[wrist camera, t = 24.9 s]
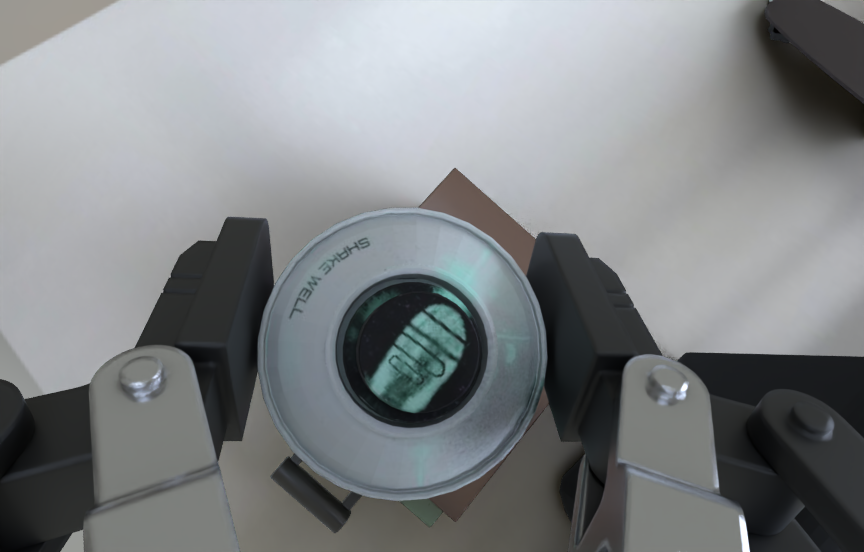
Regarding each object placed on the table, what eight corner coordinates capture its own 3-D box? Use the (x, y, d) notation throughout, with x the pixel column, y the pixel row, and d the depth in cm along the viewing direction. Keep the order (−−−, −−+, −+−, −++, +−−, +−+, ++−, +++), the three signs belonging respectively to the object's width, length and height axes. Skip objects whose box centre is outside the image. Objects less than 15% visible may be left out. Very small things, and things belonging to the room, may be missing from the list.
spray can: (436, 298, 28) (618, 182, 8) (427, 408, 27) (603, 569, 7) (327, 287, 27) (244, 133, 8) (315, 399, 27) (185, 550, 7)
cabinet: (432, 479, 38) (455, 523, 29) (296, 359, 38) (274, 364, 29) (560, 321, 41) (620, 313, 31) (433, 208, 41) (455, 167, 31)
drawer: (374, 542, 36) (377, 595, 29) (244, 429, 36) (212, 451, 29) (539, 338, 39) (582, 337, 32) (420, 234, 39) (434, 207, 32)
